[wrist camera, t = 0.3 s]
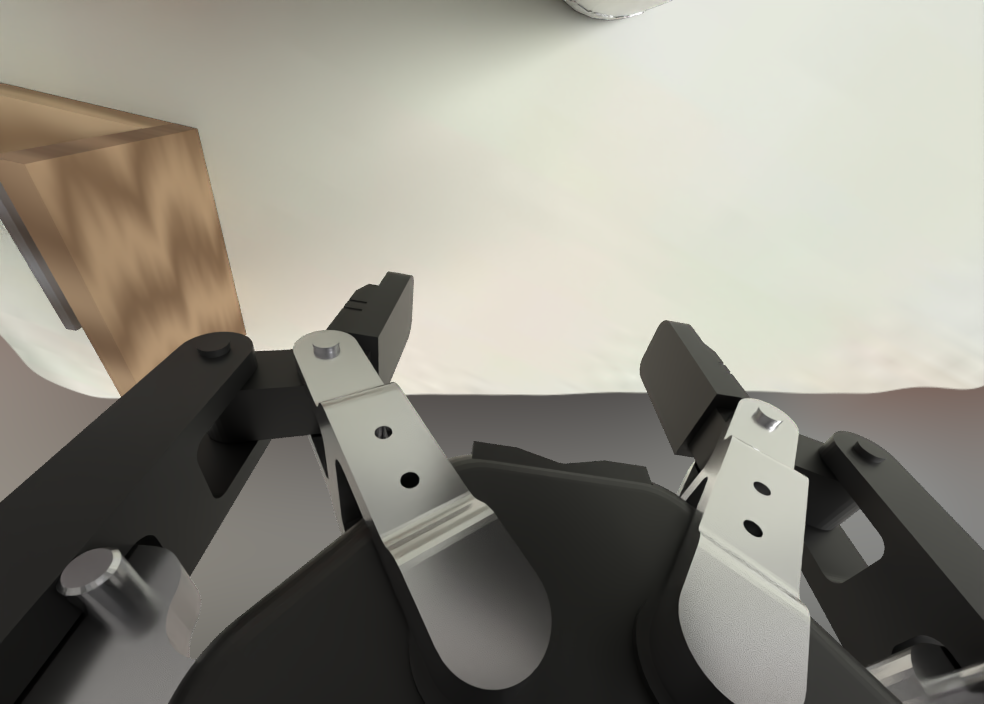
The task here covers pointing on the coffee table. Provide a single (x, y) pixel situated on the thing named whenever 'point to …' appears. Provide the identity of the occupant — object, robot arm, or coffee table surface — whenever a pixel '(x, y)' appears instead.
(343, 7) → the coffee table surface
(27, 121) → the brown wooden angled piece
